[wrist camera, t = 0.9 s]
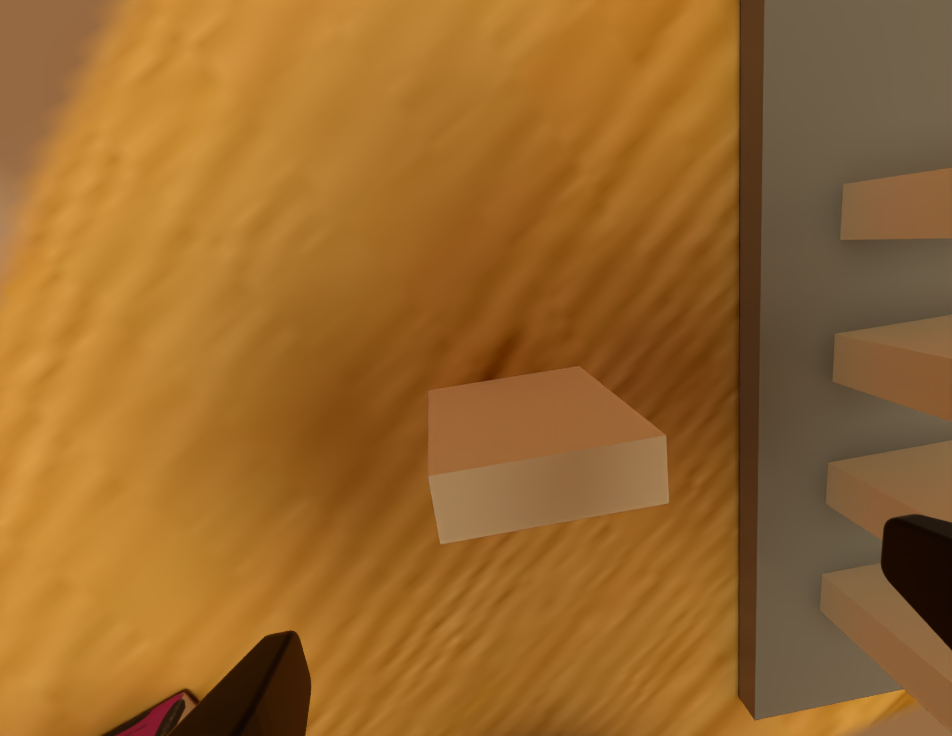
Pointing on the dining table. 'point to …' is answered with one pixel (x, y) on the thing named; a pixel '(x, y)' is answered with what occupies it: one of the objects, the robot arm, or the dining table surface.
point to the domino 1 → (538, 454)
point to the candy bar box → (158, 718)
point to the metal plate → (824, 311)
